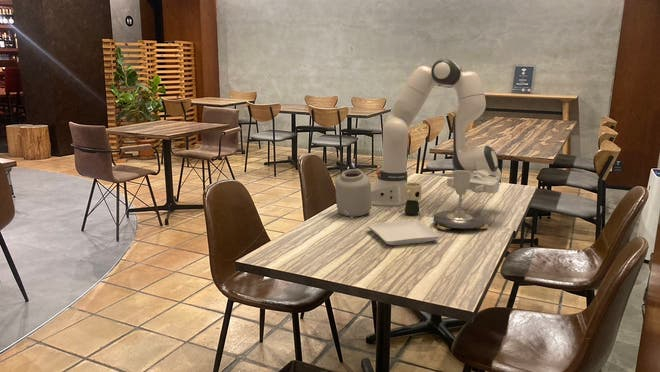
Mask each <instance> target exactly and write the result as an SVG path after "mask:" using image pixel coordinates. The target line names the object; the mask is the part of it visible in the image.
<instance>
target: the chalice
mask: <svg viewBox="0 0 660 372" xmlns="http://www.w3.org/2000/svg"><path fill="white" fill-rule="evenodd" d="M451 172H452V173H453V176H454V178H453V185H454V188H453V189H454V191H455V192H456V195H458V196H459V197H458V204H457V206H458V209H455V210H456V211H455V213H454V215H453V217H455V218H466V216H465V212H464V211H465V210H463V209H462V207H463V203H462V202H463V196H464V195H465V194H466V192H467V191H468V187H469V185H470V174H471V173H473V171H472V172H471V171H466V170H455V169H454V170H452V171H451Z"/></svg>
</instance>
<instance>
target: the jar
mask: <svg viewBox="0 0 660 372" xmlns="http://www.w3.org/2000/svg"><path fill="white" fill-rule="evenodd" d="M351 164H352V167H355V164H354V163H353V162H351ZM349 168H350V167H349V166H347V169H346V170H343V171H341V174H340V175H339V176H337V178H336V179H335V180H334V181H335V182H334V186H335V198H336V199H335V201H336V208H337V212H338V213H340V214H341V215H343V216H346V217H348V218H356V217H357V218H358V217H361V216H364V215H366V214H368V213H369V212H370V211H371V210H372V206H373V205H372V204H371V185H370V184H371V179H370V177H369V176H368V175H367V174H365V173H364V172H363V171H362V170H360V169H359V168H355V169H354V168H353V169H349Z"/></svg>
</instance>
